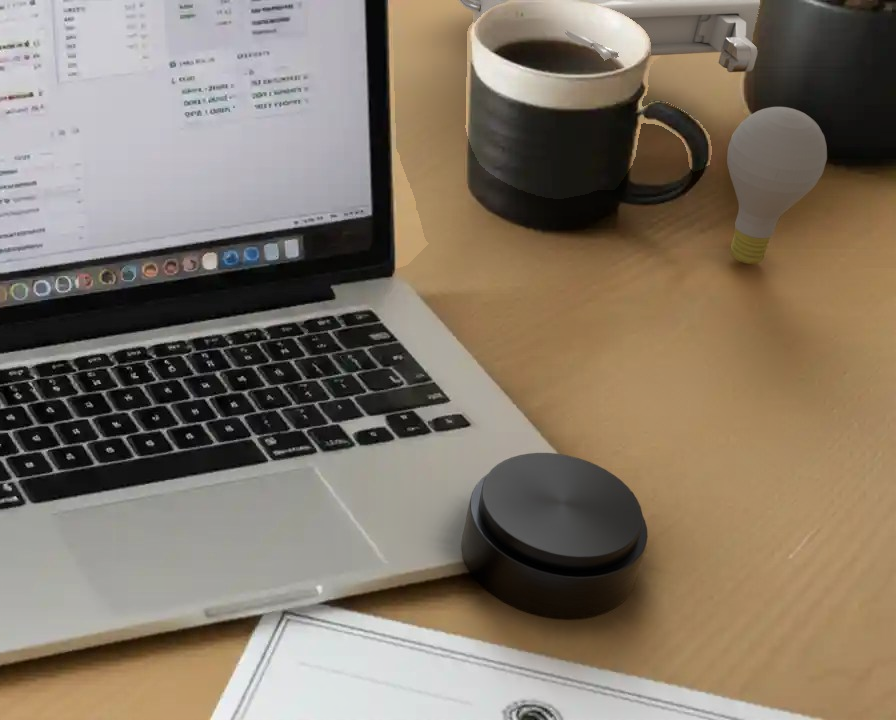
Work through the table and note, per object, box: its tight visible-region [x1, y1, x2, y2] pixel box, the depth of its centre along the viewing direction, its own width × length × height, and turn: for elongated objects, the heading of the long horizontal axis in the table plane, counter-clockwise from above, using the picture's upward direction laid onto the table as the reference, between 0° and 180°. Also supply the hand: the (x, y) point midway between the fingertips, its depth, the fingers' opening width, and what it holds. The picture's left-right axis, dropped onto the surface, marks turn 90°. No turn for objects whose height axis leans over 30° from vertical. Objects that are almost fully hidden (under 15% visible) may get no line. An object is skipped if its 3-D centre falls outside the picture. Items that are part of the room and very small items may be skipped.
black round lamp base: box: [460, 452, 648, 620], centre depth 75 cm, size 8×8×3 cm
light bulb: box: [726, 106, 828, 265], centre depth 97 cm, size 6×6×10 cm
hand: (680, 65), depth 104 cm, fingers open, 8 cm apart
